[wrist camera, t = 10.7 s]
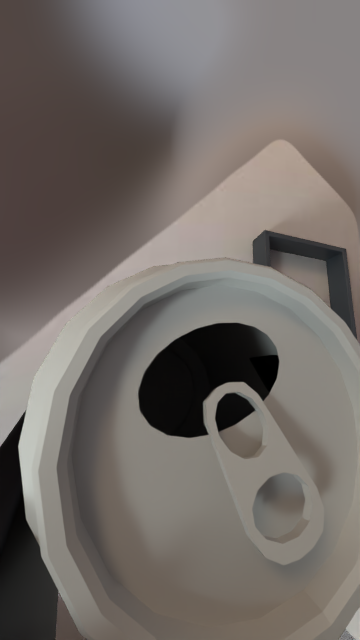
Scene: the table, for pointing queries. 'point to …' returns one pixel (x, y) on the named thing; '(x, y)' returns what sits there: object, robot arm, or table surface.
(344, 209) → the table surface
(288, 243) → the dark grey rectangular frame
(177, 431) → the can
